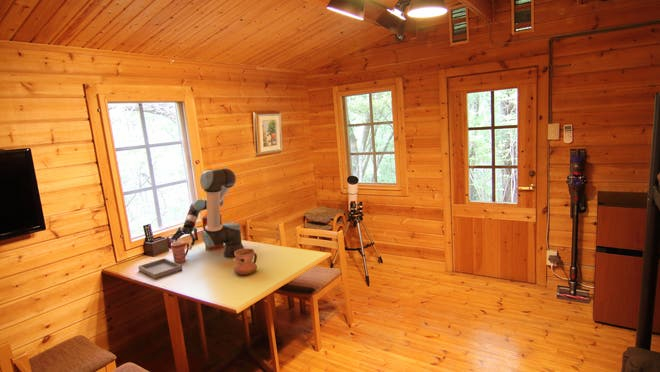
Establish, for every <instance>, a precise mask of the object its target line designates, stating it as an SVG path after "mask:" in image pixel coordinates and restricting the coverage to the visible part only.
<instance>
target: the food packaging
mask: <svg viewBox="0 0 660 372" xmlns="http://www.w3.org/2000/svg"><path fill="white" fill-rule="evenodd" d="M201 220H202V228H203V231H205V226H207V214H206V215H203V216H202V219H201ZM222 222H223V221H222V214H221V213H220V224H221V225H222V226H223V223H222ZM204 246H205V251H211V250H218V249H219V250H220V249H224V248H225V243H223V244H220V245H216V246H212V247H208V246H206V245H205V244H204Z"/></svg>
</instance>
